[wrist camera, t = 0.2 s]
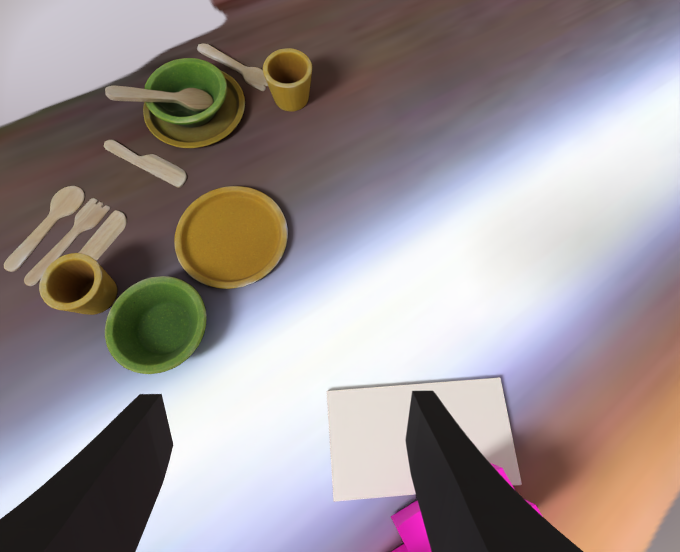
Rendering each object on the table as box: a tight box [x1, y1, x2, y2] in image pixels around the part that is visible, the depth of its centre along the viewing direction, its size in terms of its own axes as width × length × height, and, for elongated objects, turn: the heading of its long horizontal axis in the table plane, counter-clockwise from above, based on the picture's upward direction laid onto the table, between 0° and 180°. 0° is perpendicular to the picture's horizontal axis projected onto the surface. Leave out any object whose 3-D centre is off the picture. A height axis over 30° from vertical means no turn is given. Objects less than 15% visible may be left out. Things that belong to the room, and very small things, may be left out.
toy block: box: [391, 463, 543, 552], centre depth 34 cm, size 15×6×8 cm, turn 118°
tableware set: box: [4, 44, 312, 374], centre depth 47 cm, size 41×28×6 cm
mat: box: [327, 378, 522, 501], centre depth 41 cm, size 10×18×1 cm, turn 94°
